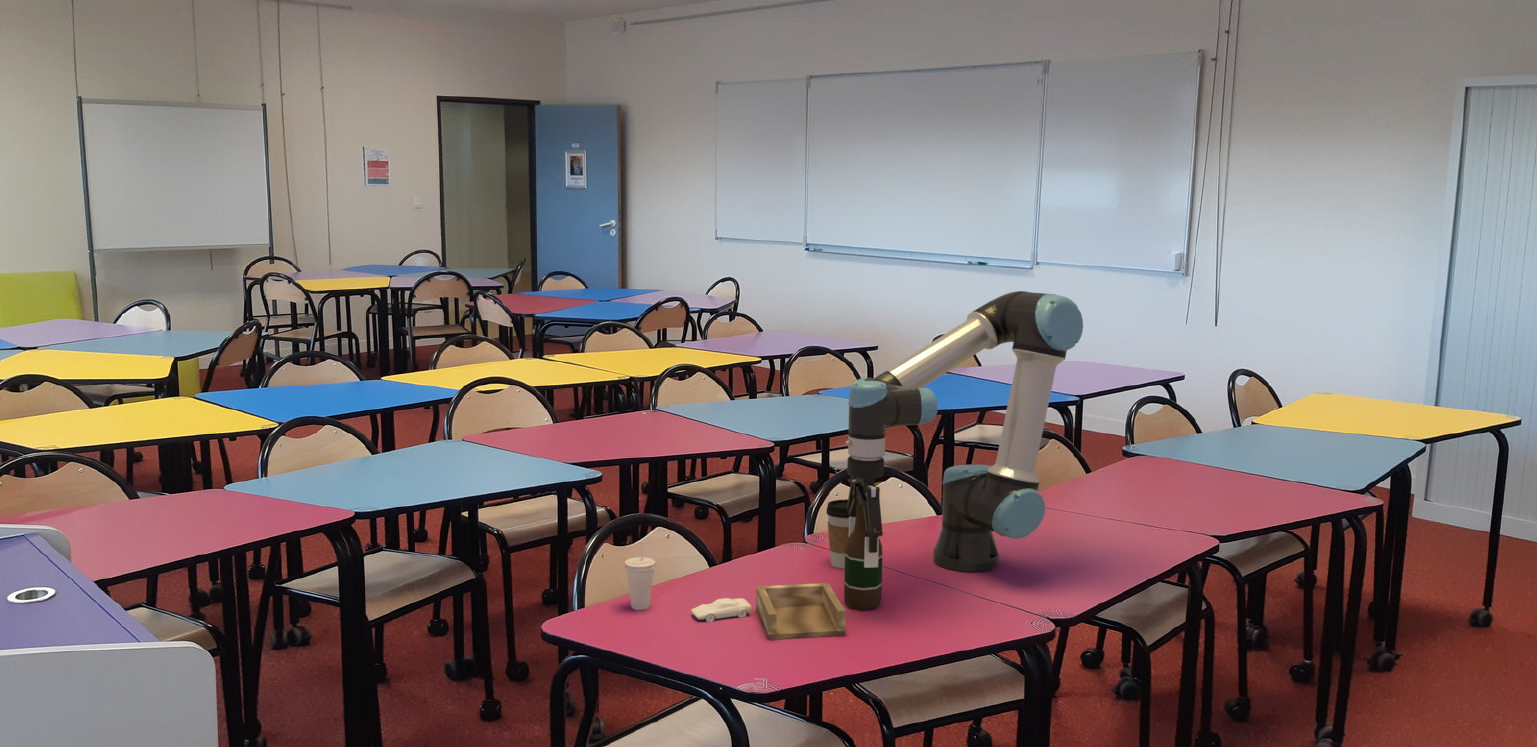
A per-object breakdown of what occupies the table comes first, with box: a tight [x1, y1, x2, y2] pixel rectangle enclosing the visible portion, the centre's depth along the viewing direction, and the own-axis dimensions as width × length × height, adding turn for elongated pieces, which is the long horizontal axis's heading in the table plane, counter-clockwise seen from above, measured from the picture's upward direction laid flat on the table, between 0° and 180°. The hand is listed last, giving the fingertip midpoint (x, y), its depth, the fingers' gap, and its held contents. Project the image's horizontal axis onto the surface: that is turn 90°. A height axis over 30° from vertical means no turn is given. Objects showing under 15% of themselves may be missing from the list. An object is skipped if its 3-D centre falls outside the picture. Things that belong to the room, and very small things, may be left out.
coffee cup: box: [826, 499, 851, 570], centre depth 254 cm, size 8×8×15 cm
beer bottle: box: [843, 494, 883, 611], centre depth 227 cm, size 8×8×24 cm
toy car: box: [690, 597, 752, 623], centre depth 222 cm, size 6×12×3 cm, turn 112°
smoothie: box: [624, 539, 657, 611], centre depth 226 cm, size 6×6×14 cm
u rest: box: [755, 582, 847, 641], centre depth 219 cm, size 15×16×5 cm
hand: (862, 556), depth 228 cm, fingers open, 13 cm apart
